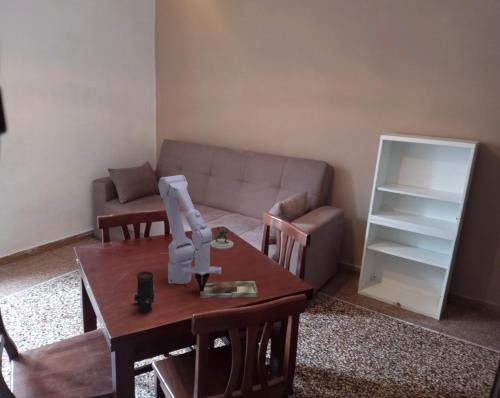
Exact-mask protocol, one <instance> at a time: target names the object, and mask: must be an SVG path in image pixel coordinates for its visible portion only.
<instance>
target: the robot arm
mask: <svg viewBox="0 0 500 398" xmlns="http://www.w3.org/2000/svg"><path fill="white" fill-rule="evenodd" d="M157 185H158V191H159V194H160V197H161V199H163V205H164V209H165V211H166V216H167V221H168V224H169V225H168V226H169V228H170V229H169V230H170V232H171V236H172V241H171V242H170V244H169V245H168V258H169V261H168V266H167V267H168V268H167V271H168V272H167V279H168V281H167V282H168V284H178V285H179V284H180V285H181V284H182V285H184V284H188V283H190V282H191V281H192V274H194V277H195V280H196V282H197V283H198V284H197V285H198V286H199V291H204V287H205V284H206V283H207V282H208V280H209V278H210V274H218V275H222V266H211V246H210V242H211V241H213V240H214V237H215V236H214V234H215V233H214V231H213V228H212V227H211V226H209V225H208V223H206V222H205V220H204V218H203V216H202V214H201V212H200V211H199V210H198V209H195V206H194V204H193V202H192V199H191V197H190V195H189V191H188V189H189V183H188V182H187V178H186V176H184V175H183V174H179V175H178V174H176V175H172V176H171V175H170V176H161V177H160V179H159V181H158V183H157ZM178 201H179V204H180V205H181V206H182V208H183V211H185V218H184V219H185V220H186V222H187V224H188V226H189V228H190V230H191V232H192V234H191V238H192V239H191V238H188V237H187V236H186V232H185V228H184V224H183V220H182V215H181V211H180V207H179V204H178ZM193 261H194V266H192V262H193Z"/></svg>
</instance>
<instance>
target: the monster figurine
mask: <svg viewBox="0 0 500 398" xmlns="http://www.w3.org/2000/svg"><path fill="white" fill-rule="evenodd" d="M216 230H217V231H218V232H216V236H215V239H213V240H212V241H210V248H213V249H216V250H229V249H231V248H233V247H234V242H233V241H232V240H230V239H228V237H227V236H226V235H227V234H228V233H229V234H232V235H233V234H235V232H234V231H230V230H229V228H227V227H224V228H223V229H222V230H221V231H220V227H218V226H216Z"/></svg>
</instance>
